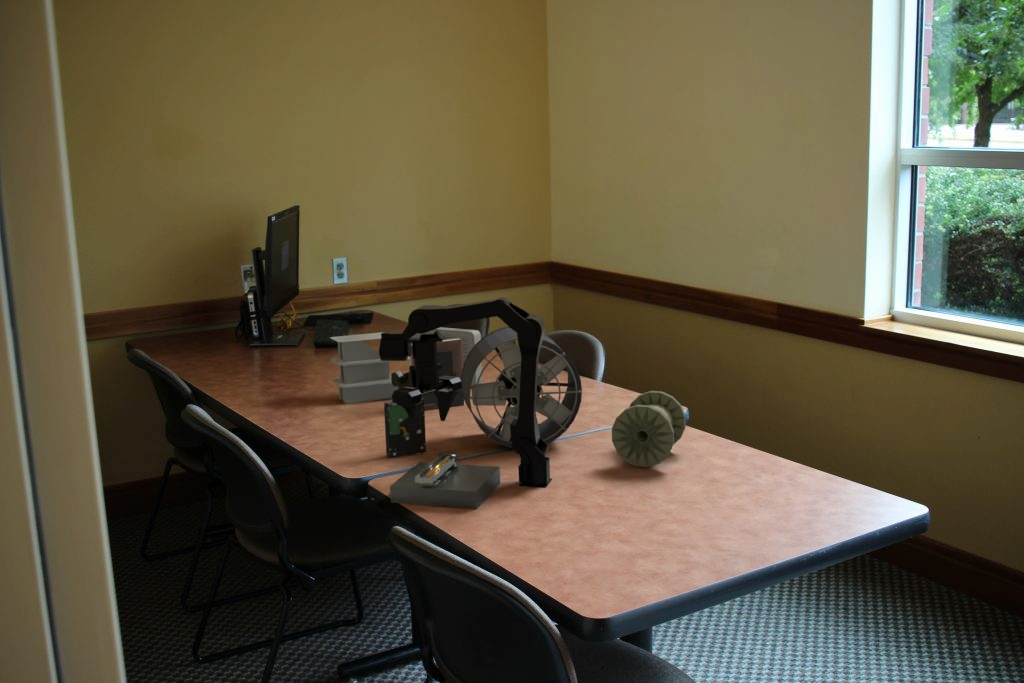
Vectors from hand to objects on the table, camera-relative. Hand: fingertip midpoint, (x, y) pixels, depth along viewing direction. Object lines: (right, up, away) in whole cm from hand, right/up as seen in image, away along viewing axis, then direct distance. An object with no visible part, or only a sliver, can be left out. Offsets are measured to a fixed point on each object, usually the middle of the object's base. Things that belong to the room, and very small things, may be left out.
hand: (429, 425), depth 233 cm
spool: (+54, -9, +16) cm, 57 cm away
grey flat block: (+5, -15, -7) cm, 17 cm away
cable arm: (+2, -10, -7) cm, 13 cm away
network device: (-2, +4, +99) cm, 99 cm away
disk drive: (-8, -10, +22) cm, 26 cm away
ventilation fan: (+22, -7, +32) cm, 40 cm away
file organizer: (-24, 0, +80) cm, 83 cm away
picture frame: (-3, -2, +67) cm, 67 cm away
